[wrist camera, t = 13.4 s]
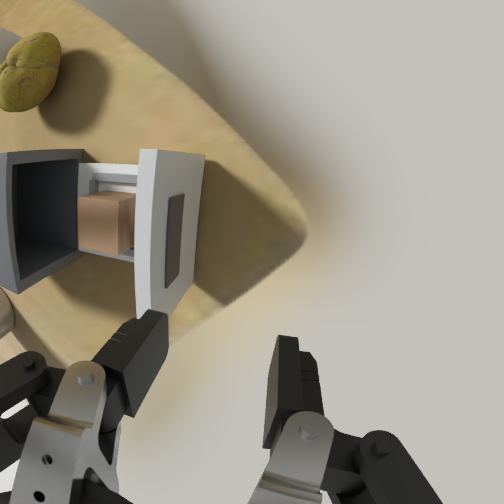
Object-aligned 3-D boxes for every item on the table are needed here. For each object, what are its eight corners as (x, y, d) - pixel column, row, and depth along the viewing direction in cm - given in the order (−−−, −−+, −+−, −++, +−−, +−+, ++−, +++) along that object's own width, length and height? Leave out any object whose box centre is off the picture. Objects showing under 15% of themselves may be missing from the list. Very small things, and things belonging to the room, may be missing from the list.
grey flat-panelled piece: (194, 281, 30) (154, 341, 19) (85, 258, 30) (25, 295, 20) (207, 155, 25) (160, 149, 15) (86, 150, 26) (15, 153, 15)
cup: (23, 39, 21) (-14, 29, 11) (45, 36, 21) (4, 23, 12) (6, 80, 23) (-34, 76, 14) (25, 82, 24) (-20, 76, 14)
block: (141, 241, 27) (118, 256, 23) (104, 234, 28) (78, 247, 23) (144, 194, 26) (118, 201, 21) (105, 190, 26) (77, 196, 21)
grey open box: (82, 256, 31) (18, 294, 19) (20, 240, 32) (-35, 265, 20) (83, 148, 27) (7, 152, 15) (19, 153, 28) (-42, 161, 16)
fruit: (83, 84, 24) (29, 70, 15) (31, 130, 26) (-20, 131, 17) (75, 30, 21) (31, 10, 12) (25, 75, 23) (-19, 69, 14)
